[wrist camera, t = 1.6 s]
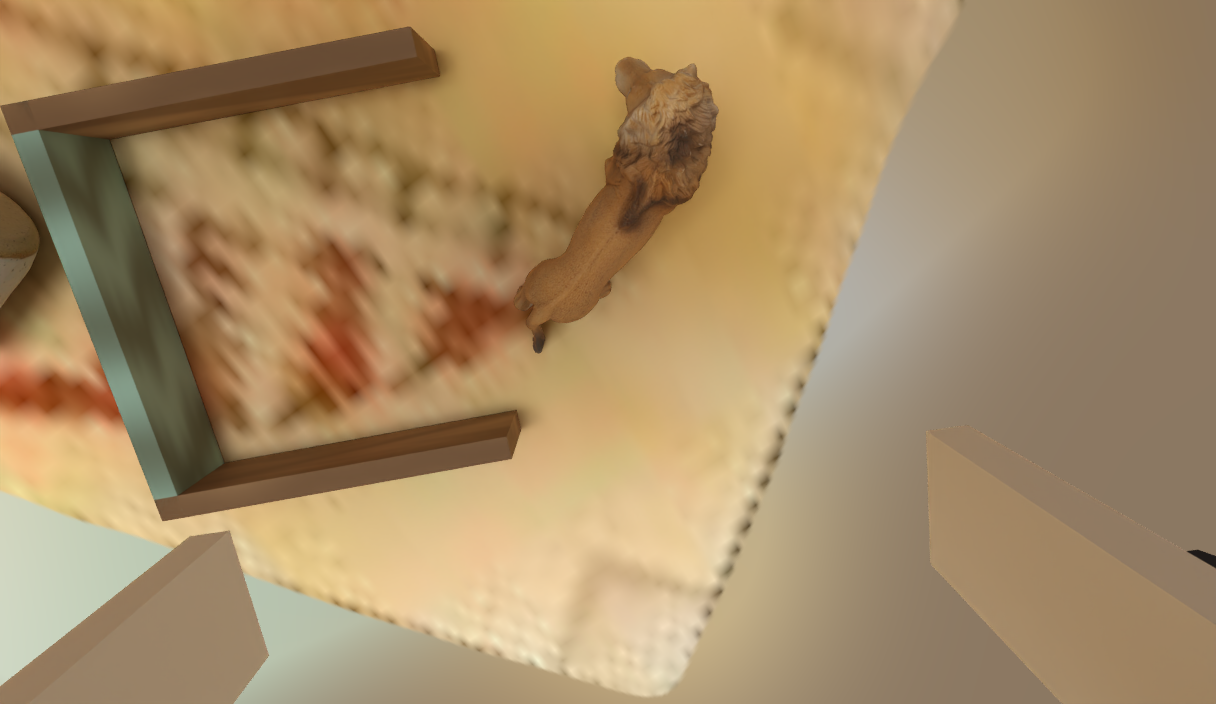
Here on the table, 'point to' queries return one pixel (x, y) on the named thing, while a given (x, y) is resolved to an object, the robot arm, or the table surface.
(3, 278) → the ceramic mug
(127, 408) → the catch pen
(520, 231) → the table surface
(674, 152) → the lion figurine
